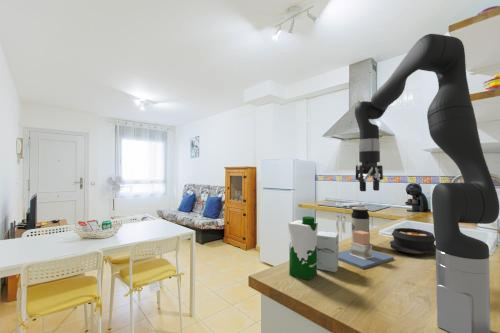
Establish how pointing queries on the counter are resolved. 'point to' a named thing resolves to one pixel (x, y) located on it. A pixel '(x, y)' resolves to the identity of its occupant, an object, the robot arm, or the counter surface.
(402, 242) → the casserole
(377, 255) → the blue board
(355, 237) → the terracotta cube
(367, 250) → the cream block
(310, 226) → the milk carton
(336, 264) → the supplement box
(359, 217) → the travel mug
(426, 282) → the counter surface
